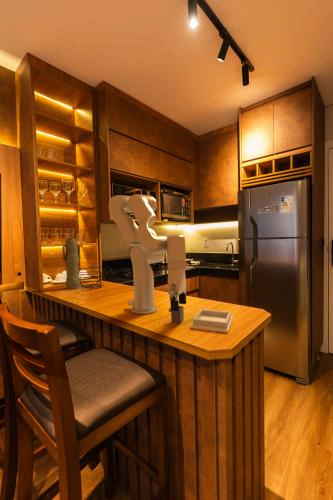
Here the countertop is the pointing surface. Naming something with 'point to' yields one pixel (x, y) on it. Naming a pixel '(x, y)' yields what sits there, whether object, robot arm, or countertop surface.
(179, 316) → the connector plug
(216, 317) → the tray
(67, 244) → the thermos
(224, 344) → the countertop surface
